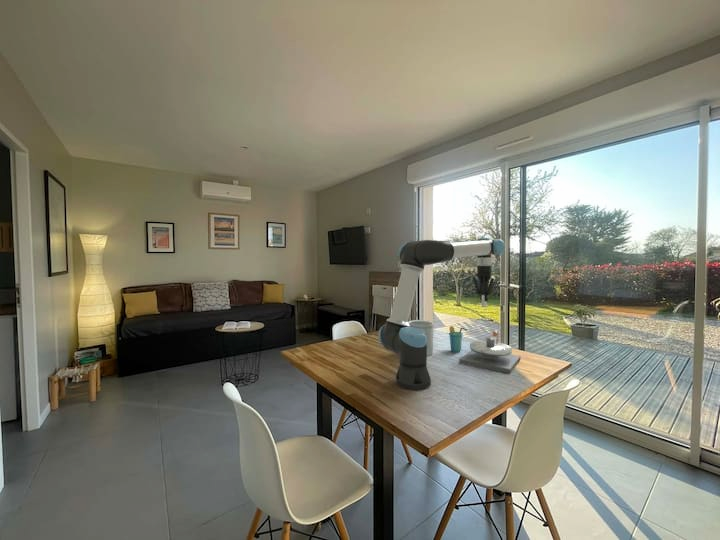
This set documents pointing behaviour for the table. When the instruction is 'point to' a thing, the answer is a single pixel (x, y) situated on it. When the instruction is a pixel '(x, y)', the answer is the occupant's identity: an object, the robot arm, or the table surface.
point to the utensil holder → (428, 329)
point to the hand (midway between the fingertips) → (484, 306)
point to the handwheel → (491, 346)
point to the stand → (491, 361)
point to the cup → (455, 339)
